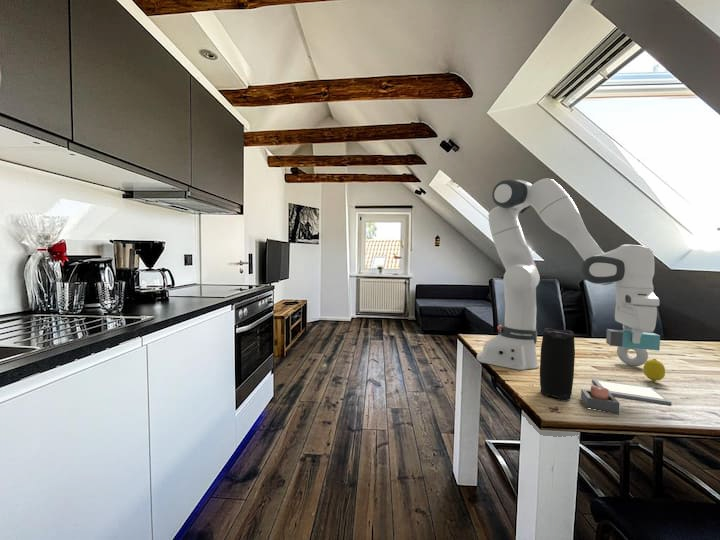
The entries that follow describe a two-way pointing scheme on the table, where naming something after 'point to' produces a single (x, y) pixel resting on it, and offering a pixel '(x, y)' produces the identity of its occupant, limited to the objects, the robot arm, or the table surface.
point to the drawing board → (632, 391)
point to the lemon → (654, 370)
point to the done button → (599, 392)
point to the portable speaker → (557, 363)
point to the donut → (624, 357)
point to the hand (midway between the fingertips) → (631, 341)
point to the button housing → (600, 402)
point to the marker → (624, 340)
